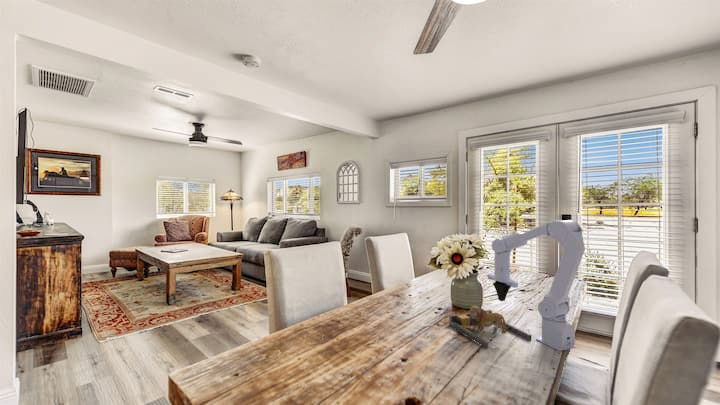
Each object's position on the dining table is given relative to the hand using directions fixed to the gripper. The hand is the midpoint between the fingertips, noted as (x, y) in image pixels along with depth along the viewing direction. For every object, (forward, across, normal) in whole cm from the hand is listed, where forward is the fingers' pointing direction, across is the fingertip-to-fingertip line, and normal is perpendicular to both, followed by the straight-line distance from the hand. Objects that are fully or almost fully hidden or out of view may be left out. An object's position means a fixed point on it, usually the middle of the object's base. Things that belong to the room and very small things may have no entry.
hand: (501, 300), depth 126 cm
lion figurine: (+10, -4, +10) cm, 15 cm away
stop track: (+9, -6, +12) cm, 16 cm away
